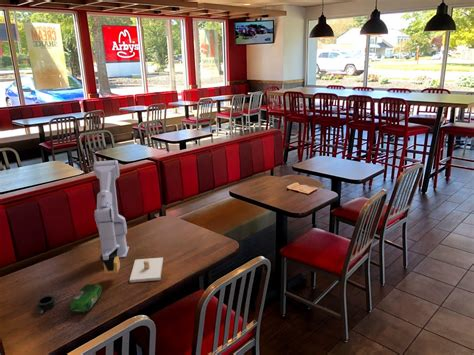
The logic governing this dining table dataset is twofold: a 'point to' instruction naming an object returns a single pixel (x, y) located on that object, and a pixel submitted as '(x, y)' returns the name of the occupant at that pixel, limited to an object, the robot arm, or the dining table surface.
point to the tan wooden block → (116, 266)
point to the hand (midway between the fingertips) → (112, 266)
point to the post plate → (146, 270)
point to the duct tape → (46, 303)
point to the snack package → (86, 298)
